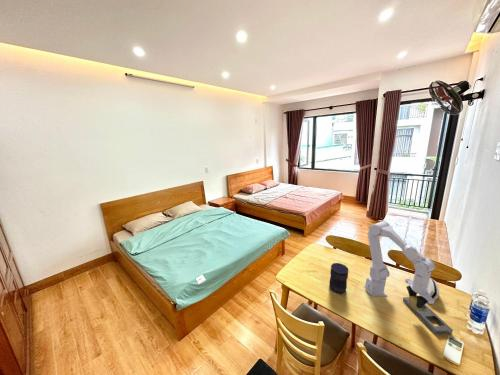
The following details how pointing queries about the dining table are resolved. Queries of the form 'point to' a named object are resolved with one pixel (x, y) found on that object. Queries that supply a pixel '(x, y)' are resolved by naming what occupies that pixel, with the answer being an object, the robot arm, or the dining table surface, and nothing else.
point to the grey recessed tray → (428, 315)
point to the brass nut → (414, 302)
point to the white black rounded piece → (433, 289)
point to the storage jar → (338, 278)
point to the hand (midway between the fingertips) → (415, 303)
